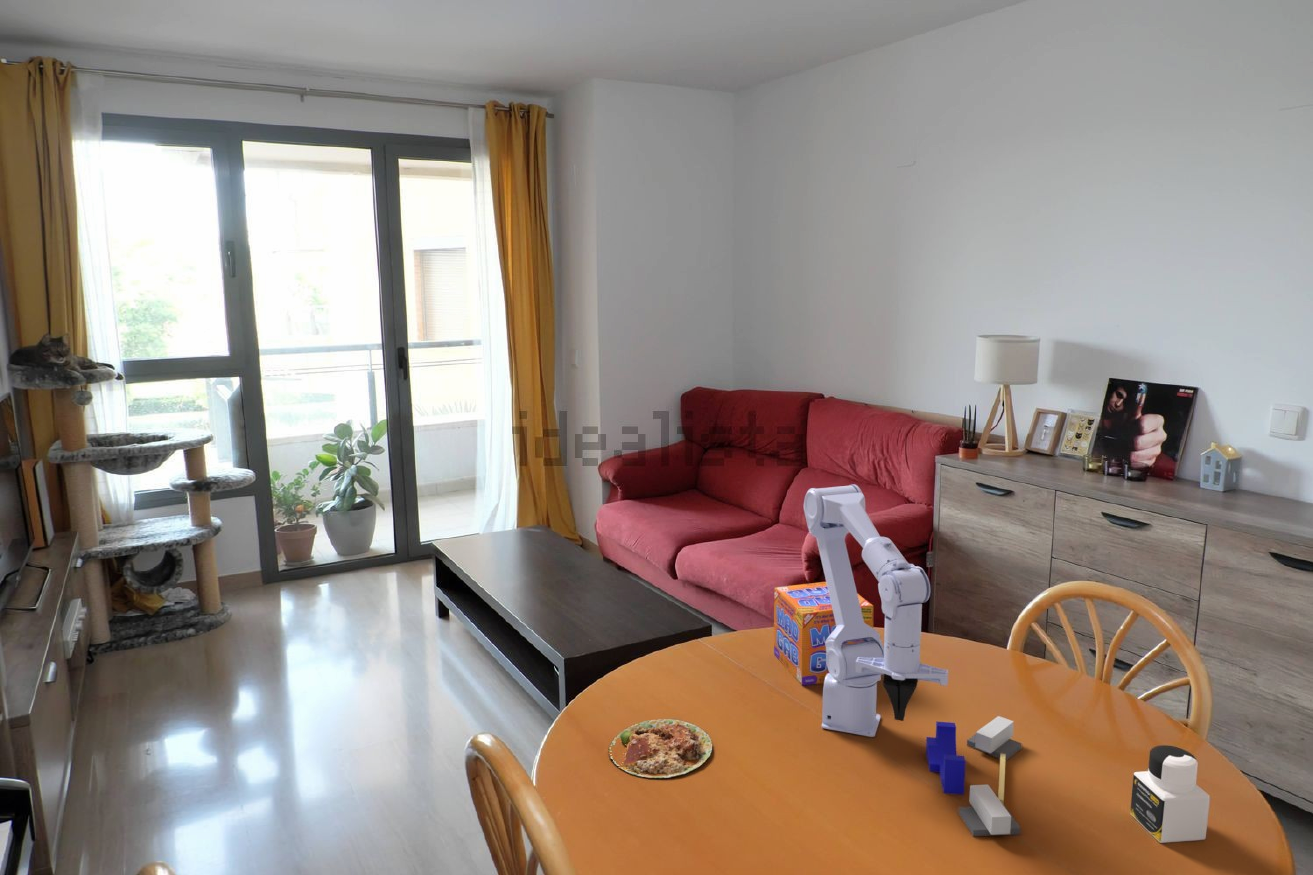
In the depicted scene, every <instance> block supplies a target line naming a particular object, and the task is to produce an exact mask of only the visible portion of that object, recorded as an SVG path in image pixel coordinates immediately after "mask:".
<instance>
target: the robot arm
mask: <svg viewBox="0 0 1313 875" xmlns="http://www.w3.org/2000/svg"><path fill="white" fill-rule="evenodd" d="M803 512H804V516H805V517H804V518H805V519H806V520H805V521H806V524H807V525H806V526H807V528H808V532H809V535H810V536H812V537H815V538H816V543H817V547H818V551H819V556H820V560H821V565H822V569H823V574H824V577H825V578H824V579H825V582H826V583H827V587H828V592H829V596H830V601H831V605H832V609H833V614H834V618H835V623H836V628H835V630H834V631H833V632H832V633H831V634H830V635H829V637H828V638H827V640H826V641H825V645H826V654H827V655H826V662H827V667H828V670H829V673H828V674H827V675H826V677H825V681H824V683H823V688H822V712H821V713H822V718H821V719H822V720H821V721H822V723H821V728H822V729H824V730H825V729H827V730H831V731H837V732H841V733H849V734H854V735H858V736H864V737H870V738H873V737H874V738H875V736H876V733H877V730H878V727H879V724H880V720H881V717H882V716H881V714H879V713H877V697H878V696H877V691H878V682H879V681H881V680H882V679H881V678H882V675H883V680H882V686H883V688H884V690H885V691H886V693H887V695H888V697H889V700H890V704H891V706H892V710H893V716H894V721H895V720H896V721H901V722H903V721H904V719H905V716H906V709H907V706H908V703H909V702H910V700H911V698H912V696H913V694H914V693H915V690H916V689H917V685H918V683H919V682H918V681H921V682H922V681H923V682H930V683H935V684H939V685H940V686H945V687H947V686H948V682H949V670H948V669H943V668H940V667H936V666H932V665H928V664H926V663H922V662H921V639H922V638H921V637H922V612H923V610H922V609H923V604H922V603H926V602H927V601H928V600H929V598H930V596H931V583H930V579H929V577H928V575H927V573H926V572H925V570H924V569H923V568H922V567H920V566H918V565H917V566H915V565H914V563H909V562H908V561H907V560H906V558H905V557H904V556H903V554H902V553H901V552H900V550H899V549H898V548H897V546H896V545H895V544H894V542H893V541H892V540H891V539H890V538H889V537H885V536H881V535H880V534H879V532H878V530H877V528H876V527H875V525H874V523H873V521H872V520H871V518H870V516H869V514H868V513H867V511H866V498H865V495H864V494H863V491H862V489H861V488H860V487H859V486H858V485H857V484H855V483H854V484H849V485H844V486H840V485H839V486H832V487H830V486H829V487H821V488H820V487H819V488H816V487H812V488H809V489H808V490H807V492H806V494H805V496H804V500H803ZM849 533H850V534H851V535H852V537H853V538H854V539H855V541H856V542H858V544H859V545H860V547H861V548H862V550H861V558H862V560H863V562H864V563H865V564H866V566H867V567H868V569H869V570H870V571H871V573H872V574H873V575H874V577H875V579H876V580H877V581H878V584H877V588H878V593H879V596H880V600H881V611H882V614H884V635H883V636H884V637H883V641H882V639H881V636H880V632H879V631H878V630H876V629H875V628H874V627H873V628H872V627H870V626H869V625H867V624H866V623H864V620H863V616H862V611H861V607H860V603H859V599H858V595H857V594H858V591H857V587H856V583H855V580H854V579H855V578H854V574H853V570H852V565H851V562H850V557H849V552H848V549H847V544H846V537H847V534H849ZM857 640H860V641H863V642H858V643H852V644H845V645H842V643H844V642H850V641H857Z"/></svg>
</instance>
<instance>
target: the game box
mask: <svg viewBox="0 0 1313 875" xmlns="http://www.w3.org/2000/svg"><path fill="white" fill-rule="evenodd" d="M773 593H774V594H773V621H774V622H773V654H774V656H775V657H776V658H777V659H778V660H779V662H780V663H782V665H783V666H784V667H785V668H786V669H787V670H788V672H789V673H790V674H791V675H792V676H793V677H794V678H795V681H797V682H798V683H799V684H800V685H801V686H809V685H818V684H824V681H825V677H826V675H827V674H828V673H829V670H828V667H827V662H826V655H827V654H826V645H825V641H826V640H827V638H828V637H829V635H830V634H831V633H832V632H833V631H834V630H835V628H836V623H835V618H834V614H833V609H832V605H831V601H830V596H829V592H828V587H827V583H826V581H821V582H820V581H819V582H813V583H802V584H794V585H793V584H792V585H785V586H776V587H775V586H774V591H773ZM857 595H858V599H859V603H860V607H861V611H862V616H863V620H864V623H866V624H867V625H869V626H870V627H872V628H873V629H874V610H875V609H874V605H873V604H872V603H871V602H869V601H868V600H867V599H865V598H864V597H862V595H860V594H859V593H857ZM858 642H863V641H860V640H857V641H850V642H844V643H842V645H845V644H852V643H858Z"/></svg>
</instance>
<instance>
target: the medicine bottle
mask: <svg viewBox="0 0 1313 875" xmlns="http://www.w3.org/2000/svg"><path fill="white" fill-rule="evenodd" d="M1148 758H1149V759H1148V768H1147V770H1145V771H1136V772H1133V777H1132V788H1131V797H1130V798H1131V799H1130V812H1129V814H1130V815H1131V816H1132V817H1133V819H1135V820H1136V821H1137V823H1139V824H1140V825H1141V826H1142V827H1143V829H1145V830H1146V831H1147V832H1148V833H1149V834H1150V835H1151V836H1152V837H1153V838H1154V839H1155V840H1156V841H1158V843H1160V844H1165V843H1166V844H1167V843H1180V842H1192V841H1193V842H1194V841H1204V840H1206V837H1207V829H1208V828H1207V827H1208V820H1209V811H1210V800H1211V796H1210V795H1209V794H1208V793H1207V792H1206V791H1205V790H1203V789H1202V788H1201V787H1199V785H1198V784H1197V776H1198V767H1199V766H1198V765H1199V761H1198V760H1197V758H1196V757H1195V756H1194V754H1192V753H1191V752H1189V751H1188V750H1186V749H1183V748H1180V747H1178V746H1174V745H1169V744H1168V745H1165V744H1163V745H1162V744H1161V745H1155V746H1154V747H1152V748H1151V749H1150V750H1149V757H1148Z"/></svg>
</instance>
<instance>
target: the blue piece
mask: <svg viewBox="0 0 1313 875" xmlns="http://www.w3.org/2000/svg"><path fill="white" fill-rule="evenodd" d="M935 725H936V727H935V737H933V736H926V740H925V741H926V743H925V755H926V758H927V764H928V770H929V772H934V773H936V772H937V773H939V778H940V781H941V782H940V783H941V786H942V791H943V794H951V795H962V796H964V795H965V775H966V759H965V758H966V757H965V756H964V755H958V753H957V726H956V723H955V722H946V721H936V723H935Z"/></svg>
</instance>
